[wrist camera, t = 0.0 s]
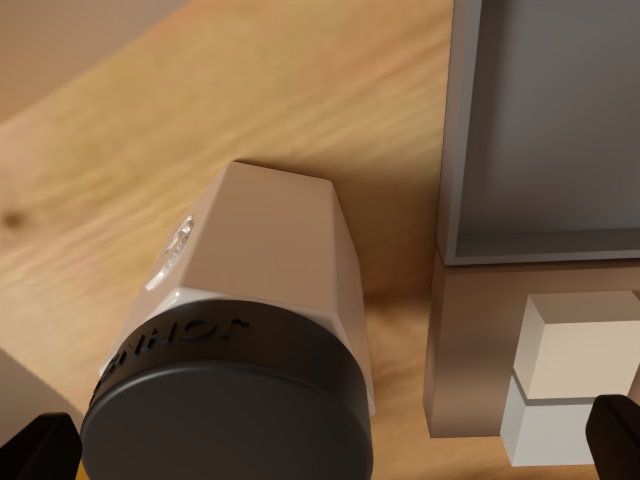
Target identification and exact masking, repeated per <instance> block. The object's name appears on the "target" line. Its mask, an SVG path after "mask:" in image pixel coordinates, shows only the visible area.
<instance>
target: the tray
mask: <svg viewBox="0 0 640 480" xmlns="http://www.w3.org/2000/svg"><path fill="white" fill-rule="evenodd" d="M435 240H436V242H437V245H438V248H439V250H440V253H441V256H442V259H443V261H444V264H445V265H468V264H492V263H517V262H541V261H566V260H590V259H615V258H639V257H640V0H454V8H453V21H452V34H451V46H450V59H449V72H448V85H447V98H446V110H445V123H444V136H443V149H442V162H441V174H440V187H439V200H438V213H437V226H436V238H435Z"/></svg>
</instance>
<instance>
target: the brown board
mask: <svg viewBox="0 0 640 480" xmlns="http://www.w3.org/2000/svg"><path fill="white" fill-rule="evenodd" d="M629 290H631V291H632V293H633V294H634V295H635V296H636V297H637V298H638V300H639V301H640V257H639V258H615V259H590V260H566V261H541V262H517V263H492V264H468V265H445V264H444V261H443V259H442V256H441V253H440V250H439V248H438V245H435V251H434V264H433V277H432V290H431V302H430V315H429V328H428V341H427V354H426V366H425V379H424V392H423V406H424V410H425V415H426V420H427V424H428V429H429V434H430V438H456V437H489V436H501V435H500V430H501V425H502V420H503V415H504V411H505V406H506V401H507V396H508V391H509V386H510V381H511V376H512V374H516V372H515V370H514V367H513V366H514V362H515V357H516V352H517V347H518V342H519V337H520V332H521V327H522V322H523V317H524V313H525V308H526V303H527V298H528V294H552V293H578V292H603V291H629ZM627 397H628V398H630V399H631V400H633V401H634V402H635V403H637V404H638V405H639V406H640V363H639V366H638V369H637V371H636V374H635V377H634V379H633V382H632V384H631V387H630V390H629V392H628V395H627Z"/></svg>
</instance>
